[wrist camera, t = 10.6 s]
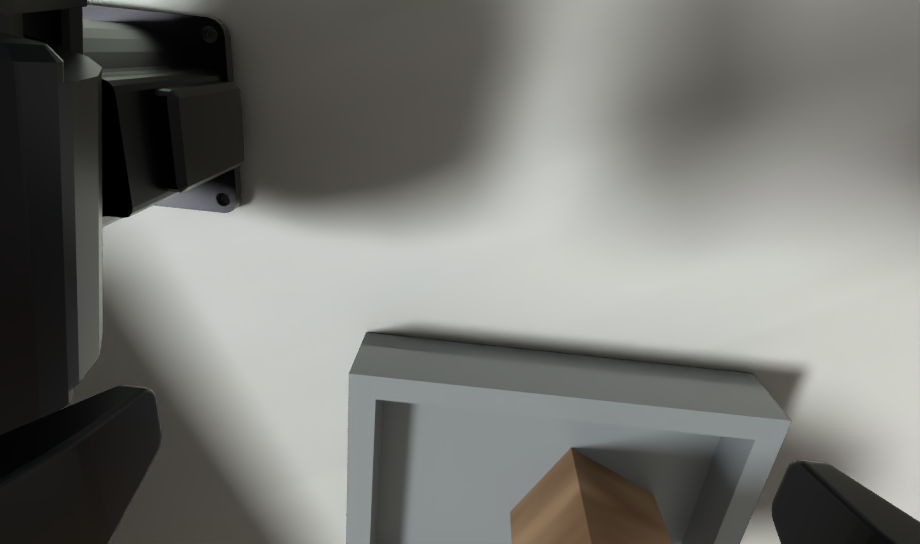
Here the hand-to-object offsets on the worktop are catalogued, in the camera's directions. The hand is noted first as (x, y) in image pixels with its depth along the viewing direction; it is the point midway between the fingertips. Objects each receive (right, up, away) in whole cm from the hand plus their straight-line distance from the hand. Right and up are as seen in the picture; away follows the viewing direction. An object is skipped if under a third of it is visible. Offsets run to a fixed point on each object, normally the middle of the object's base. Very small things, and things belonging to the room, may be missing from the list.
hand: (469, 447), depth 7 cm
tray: (+3, -7, +17) cm, 19 cm away
